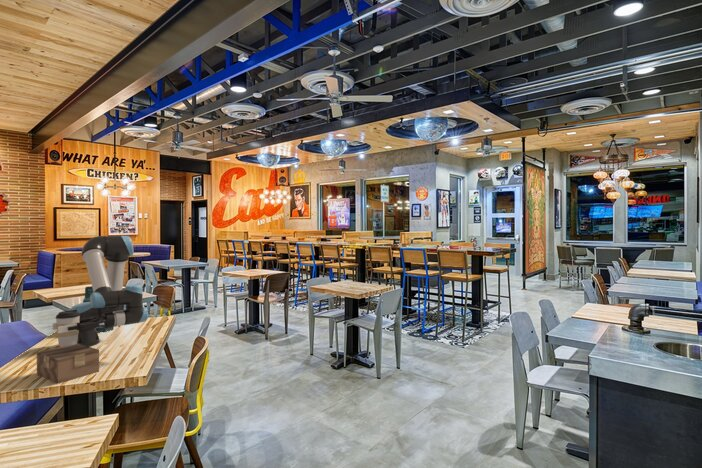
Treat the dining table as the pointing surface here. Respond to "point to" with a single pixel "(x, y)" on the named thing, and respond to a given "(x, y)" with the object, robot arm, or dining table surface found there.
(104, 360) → the dining table surface
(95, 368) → the walnut box
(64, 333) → the coffee cup
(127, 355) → the dining table surface
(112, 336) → the dining table surface
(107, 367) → the dining table surface
